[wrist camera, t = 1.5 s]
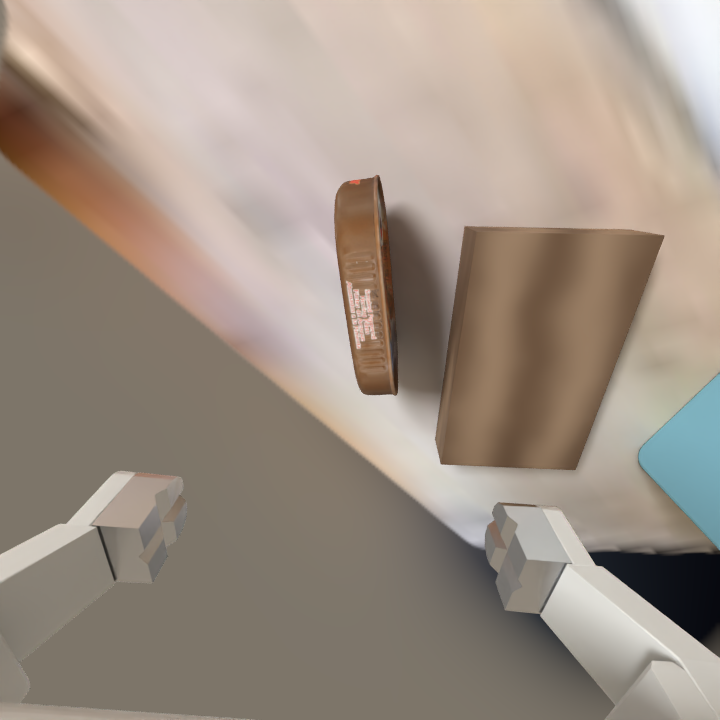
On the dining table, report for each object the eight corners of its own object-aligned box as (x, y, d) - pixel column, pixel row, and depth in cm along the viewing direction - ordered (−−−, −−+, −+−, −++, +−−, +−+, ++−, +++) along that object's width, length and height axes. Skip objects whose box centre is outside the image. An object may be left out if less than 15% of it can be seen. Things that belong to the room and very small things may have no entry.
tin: (399, 363, 32) (405, 418, 24) (364, 366, 32) (360, 422, 24) (383, 176, 25) (386, 171, 17) (340, 182, 25) (323, 179, 18)
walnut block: (625, 229, 26) (664, 235, 23) (555, 441, 35) (575, 470, 31) (463, 225, 27) (476, 231, 23) (434, 436, 35) (441, 464, 32)
